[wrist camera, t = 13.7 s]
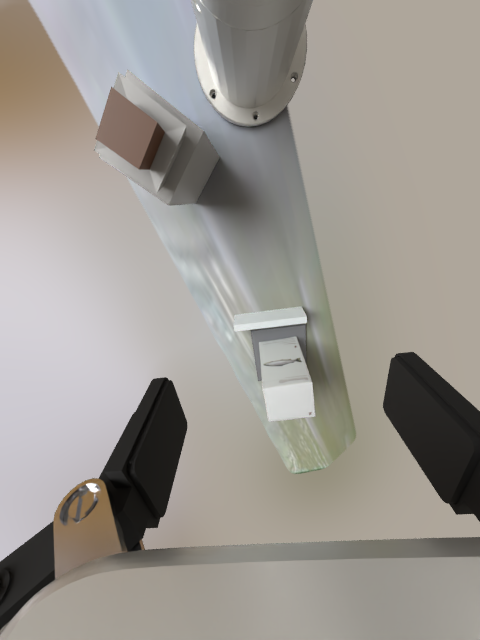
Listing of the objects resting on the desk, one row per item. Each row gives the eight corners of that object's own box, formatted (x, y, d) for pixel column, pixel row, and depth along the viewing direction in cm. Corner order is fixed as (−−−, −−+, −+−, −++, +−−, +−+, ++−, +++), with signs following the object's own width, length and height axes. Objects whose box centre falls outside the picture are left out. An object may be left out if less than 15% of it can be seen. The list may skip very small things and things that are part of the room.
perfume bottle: (219, 157, 32) (192, 112, 16) (195, 203, 34) (151, 206, 18) (175, 122, 30) (93, 31, 14) (153, 173, 33) (63, 147, 17)
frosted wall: (234, 314, 42) (233, 325, 39) (301, 306, 41) (306, 316, 38) (235, 320, 43) (234, 331, 39) (301, 312, 42) (306, 322, 38)
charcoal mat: (250, 330, 44) (250, 331, 43) (304, 323, 43) (305, 325, 42) (258, 379, 49) (258, 380, 49) (306, 374, 48) (306, 376, 48)
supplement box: (297, 334, 43) (314, 381, 32) (300, 366, 47) (317, 418, 35) (257, 340, 44) (261, 388, 33) (263, 371, 47) (268, 424, 36)
